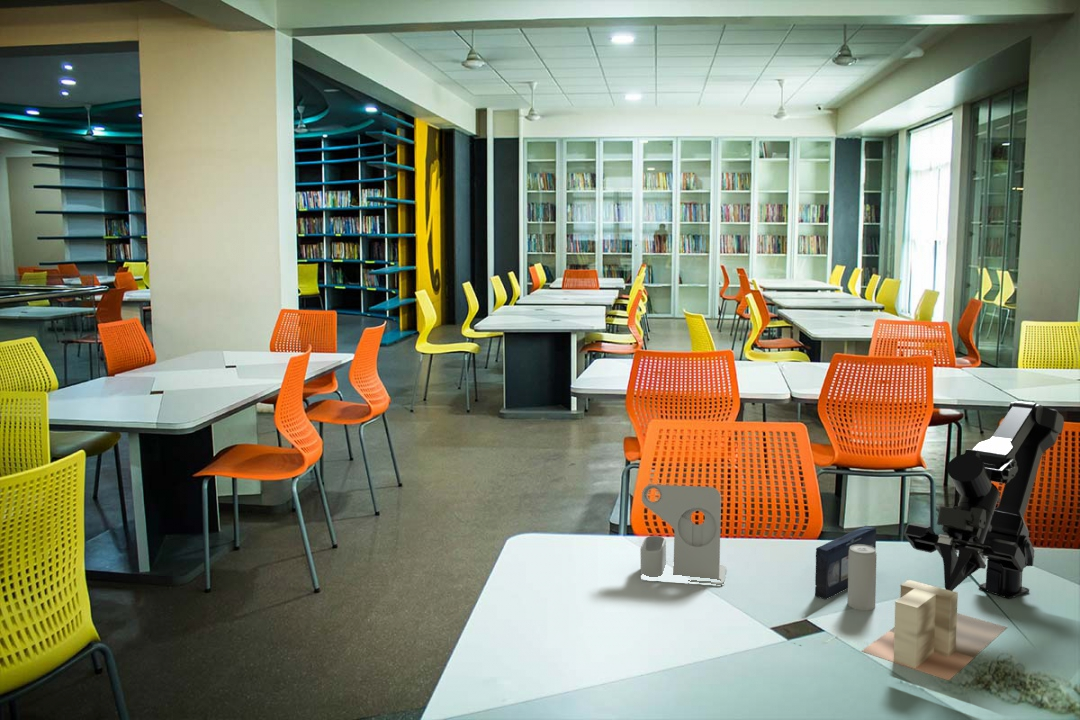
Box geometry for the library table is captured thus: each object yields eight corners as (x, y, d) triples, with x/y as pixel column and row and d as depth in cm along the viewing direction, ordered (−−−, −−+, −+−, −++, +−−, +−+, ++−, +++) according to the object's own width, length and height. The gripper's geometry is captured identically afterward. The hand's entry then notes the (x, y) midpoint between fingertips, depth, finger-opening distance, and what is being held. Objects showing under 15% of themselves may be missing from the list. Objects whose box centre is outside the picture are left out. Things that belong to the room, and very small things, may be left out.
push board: (925, 610, 161) (925, 604, 160) (1007, 633, 151) (1007, 627, 150) (861, 657, 144) (861, 651, 144) (948, 687, 134) (948, 680, 133)
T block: (907, 635, 148) (908, 579, 147) (955, 650, 143) (957, 592, 141) (879, 656, 142) (881, 597, 140) (929, 673, 136) (931, 611, 134)
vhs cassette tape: (825, 600, 167) (826, 550, 165) (812, 596, 169) (812, 546, 168) (877, 575, 178) (878, 528, 177) (864, 571, 180) (865, 524, 179)
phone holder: (637, 580, 179) (636, 495, 176) (644, 562, 188) (643, 481, 186) (724, 587, 174) (723, 499, 172) (726, 568, 184) (726, 485, 181)
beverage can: (877, 617, 159) (878, 553, 157) (849, 615, 160) (850, 552, 158) (872, 606, 163) (874, 544, 162) (845, 604, 164) (846, 543, 163)
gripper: (907, 479, 157) (878, 555, 151) (1019, 496, 143) (991, 581, 137) (928, 510, 163) (900, 584, 157) (1036, 530, 149) (1011, 612, 144)
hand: (948, 589), depth 149 cm, fingers closed
